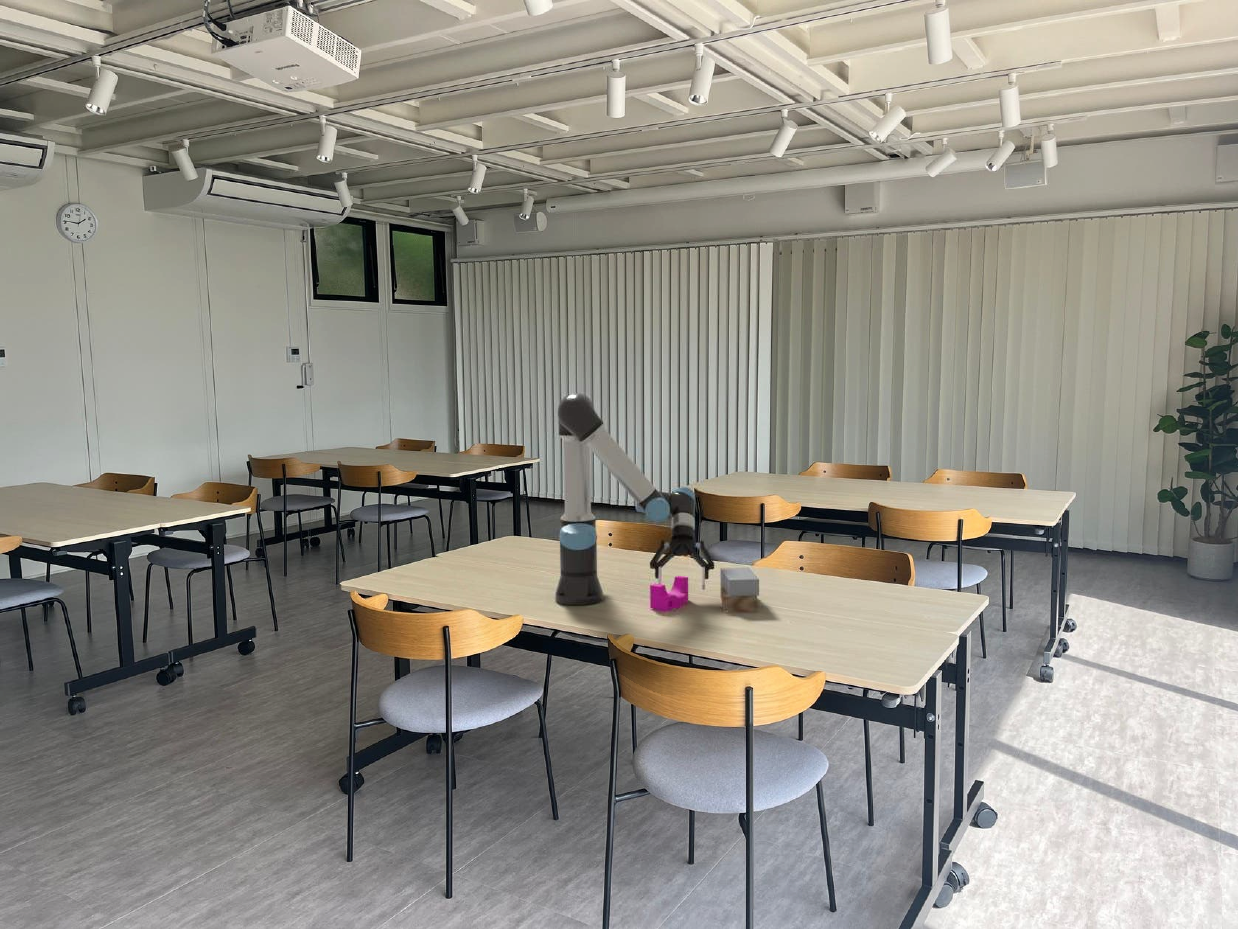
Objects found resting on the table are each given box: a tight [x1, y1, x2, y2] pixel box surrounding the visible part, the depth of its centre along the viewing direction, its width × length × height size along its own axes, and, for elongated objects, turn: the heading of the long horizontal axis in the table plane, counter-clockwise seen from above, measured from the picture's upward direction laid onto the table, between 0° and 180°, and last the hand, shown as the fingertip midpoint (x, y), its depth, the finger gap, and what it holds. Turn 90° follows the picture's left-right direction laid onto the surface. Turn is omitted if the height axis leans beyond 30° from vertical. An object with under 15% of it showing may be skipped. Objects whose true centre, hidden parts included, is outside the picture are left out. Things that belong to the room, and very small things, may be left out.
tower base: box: [719, 584, 758, 613], centre depth 282 cm, size 10×18×5 cm, turn 177°
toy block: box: [649, 575, 689, 612], centre depth 282 cm, size 15×6×8 cm, turn 141°
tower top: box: [719, 567, 760, 597], centre depth 282 cm, size 9×16×5 cm, turn 3°
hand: (681, 587), depth 283 cm, fingers open, 13 cm apart
